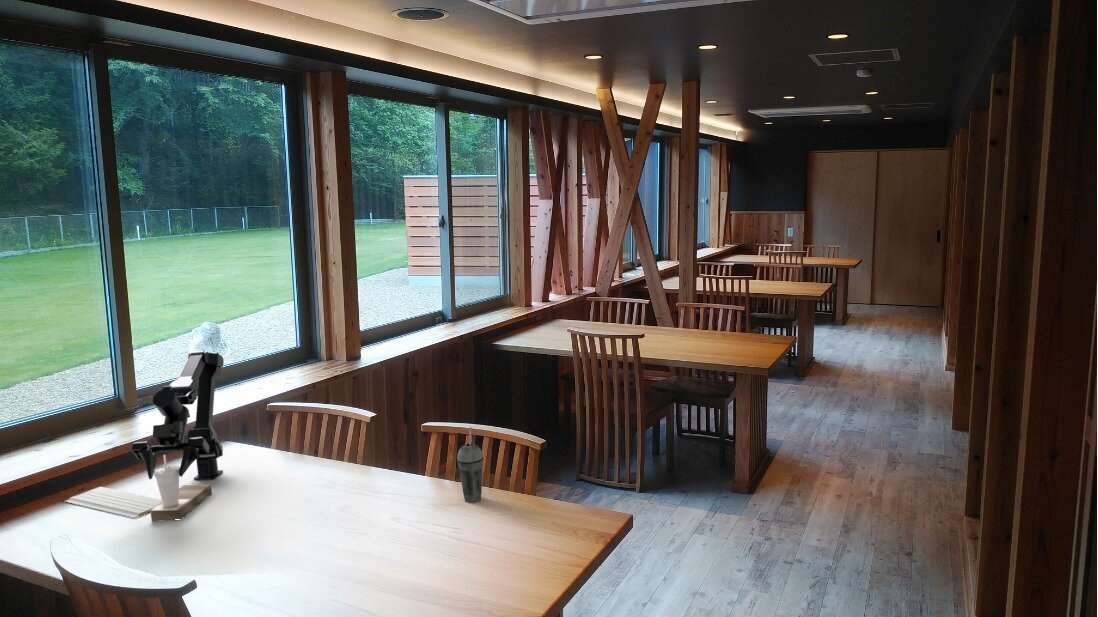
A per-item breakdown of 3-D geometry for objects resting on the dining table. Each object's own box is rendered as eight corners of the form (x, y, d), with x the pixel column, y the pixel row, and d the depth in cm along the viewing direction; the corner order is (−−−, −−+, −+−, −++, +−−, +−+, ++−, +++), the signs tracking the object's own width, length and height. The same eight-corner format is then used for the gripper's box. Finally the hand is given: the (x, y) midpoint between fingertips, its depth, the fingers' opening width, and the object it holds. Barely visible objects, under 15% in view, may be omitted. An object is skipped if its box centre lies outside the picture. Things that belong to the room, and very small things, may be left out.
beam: (184, 494, 224) (183, 484, 224) (212, 494, 224) (210, 483, 224) (150, 521, 206) (149, 510, 205) (180, 520, 206) (178, 509, 205)
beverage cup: (454, 503, 209) (449, 431, 206) (467, 493, 215) (462, 423, 212) (478, 506, 206) (474, 433, 203) (490, 495, 213) (486, 425, 210)
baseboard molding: (129, 523, 208) (169, 506, 218) (128, 512, 207) (168, 496, 218) (60, 506, 222) (100, 491, 232) (59, 496, 221) (99, 482, 232)
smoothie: (153, 509, 206) (147, 458, 204) (163, 500, 212) (157, 451, 210) (178, 507, 206) (172, 457, 204) (187, 498, 212) (182, 449, 210)
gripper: (128, 413, 208) (116, 467, 199) (201, 408, 210) (191, 461, 201) (144, 433, 217) (132, 485, 208) (213, 427, 219) (205, 479, 210)
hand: (165, 477), depth 206 cm, fingers open, 7 cm apart
